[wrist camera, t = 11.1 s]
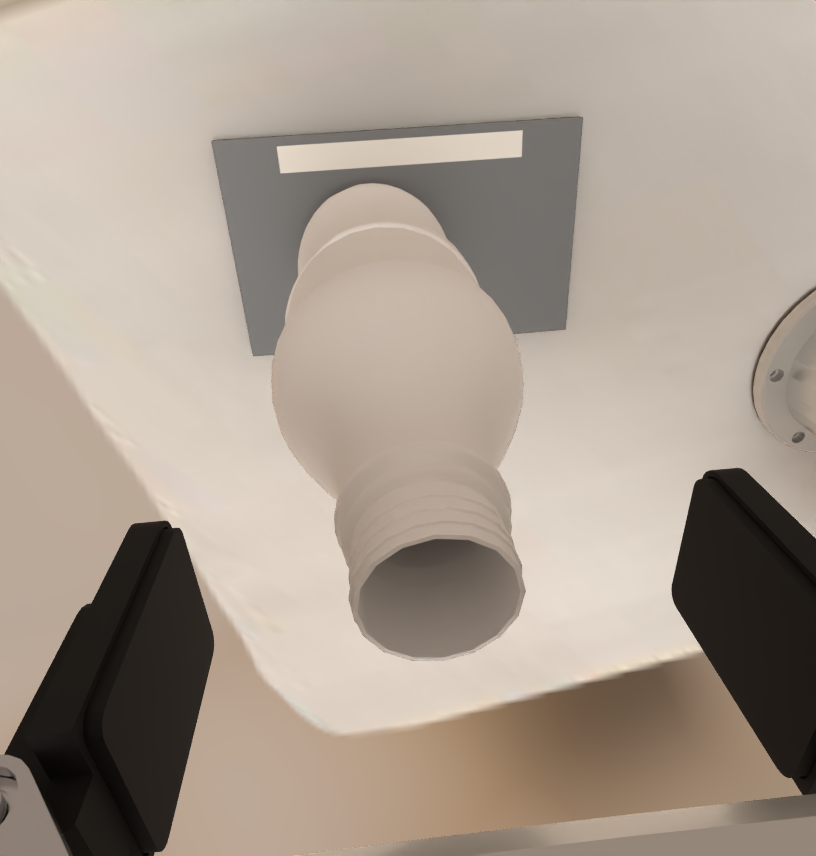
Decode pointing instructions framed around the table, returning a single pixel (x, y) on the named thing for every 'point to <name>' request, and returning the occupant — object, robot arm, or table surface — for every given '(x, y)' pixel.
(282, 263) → the board
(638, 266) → the table surface
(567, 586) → the table surface
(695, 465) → the table surface
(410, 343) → the water bottle
